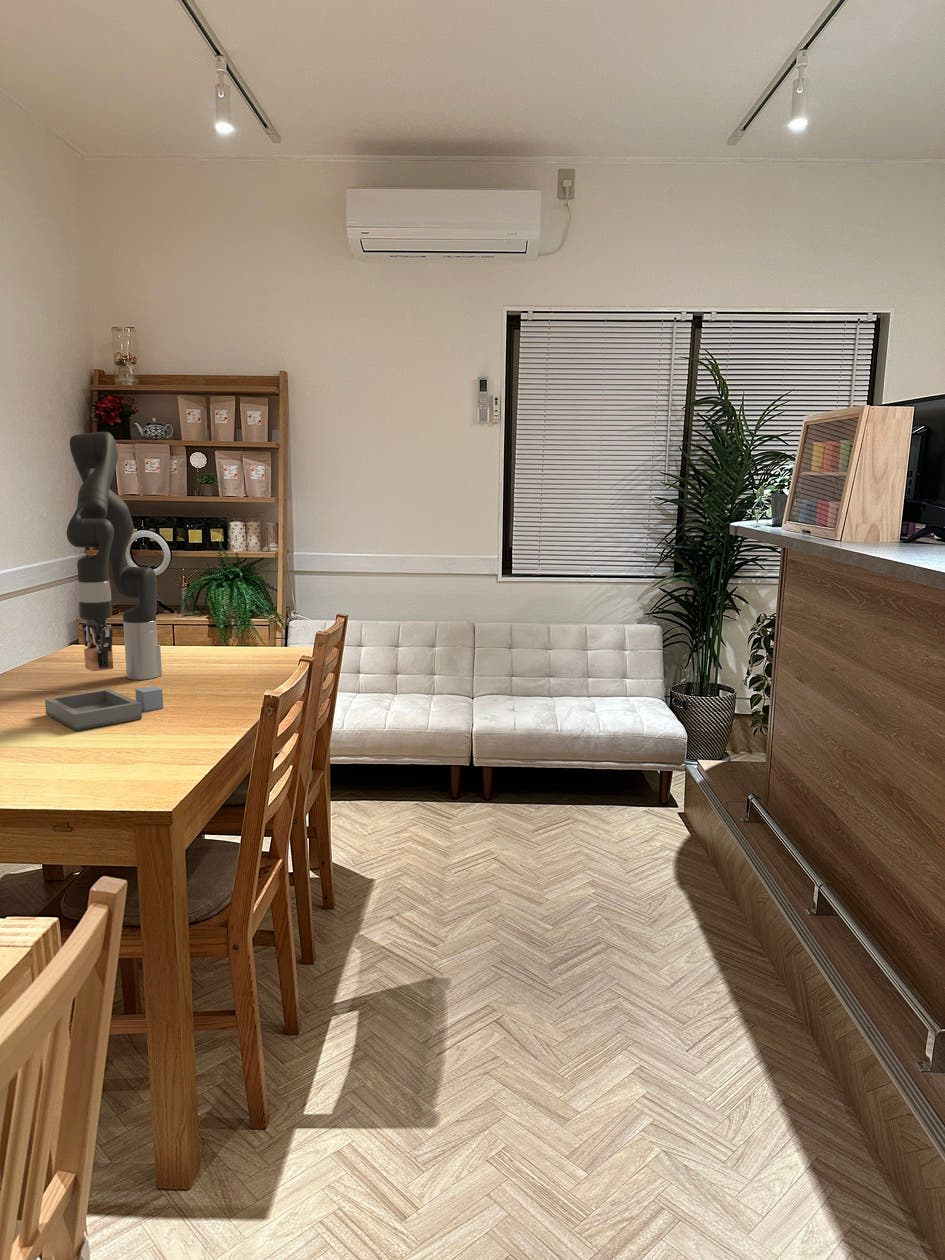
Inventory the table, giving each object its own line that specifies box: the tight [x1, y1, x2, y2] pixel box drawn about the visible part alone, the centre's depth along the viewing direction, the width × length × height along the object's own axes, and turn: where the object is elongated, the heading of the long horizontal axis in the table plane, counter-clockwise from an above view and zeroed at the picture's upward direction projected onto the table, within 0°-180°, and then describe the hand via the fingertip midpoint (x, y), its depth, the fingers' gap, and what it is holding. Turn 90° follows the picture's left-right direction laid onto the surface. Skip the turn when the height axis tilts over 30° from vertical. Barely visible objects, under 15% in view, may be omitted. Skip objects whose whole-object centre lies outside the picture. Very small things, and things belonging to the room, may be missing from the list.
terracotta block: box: [83, 646, 114, 672], centre depth 216 cm, size 5×5×5 cm
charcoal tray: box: [44, 688, 143, 732], centre depth 214 cm, size 16×20×4 cm
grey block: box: [134, 685, 164, 712], centre depth 223 cm, size 5×5×5 cm
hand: (99, 665), depth 216 cm, fingers closed on terracotta block, 5 cm apart
